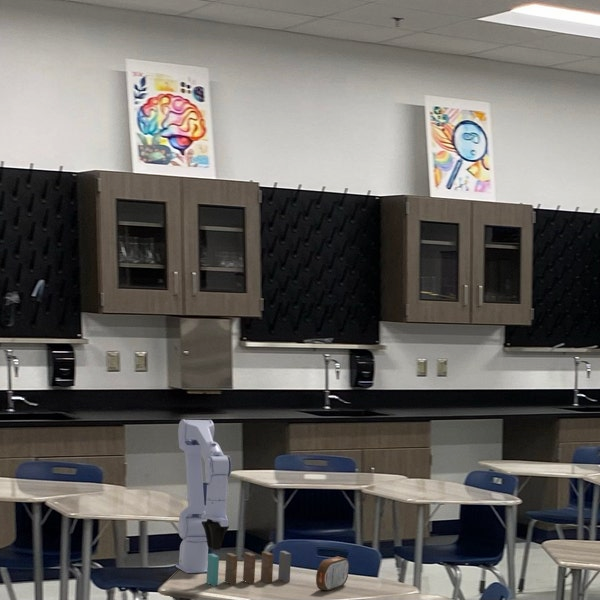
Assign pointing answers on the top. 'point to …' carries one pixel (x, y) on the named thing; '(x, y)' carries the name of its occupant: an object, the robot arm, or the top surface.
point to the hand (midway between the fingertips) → (213, 548)
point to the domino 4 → (284, 566)
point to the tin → (332, 573)
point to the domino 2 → (249, 567)
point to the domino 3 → (267, 567)
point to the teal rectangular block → (212, 569)
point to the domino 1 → (231, 568)
